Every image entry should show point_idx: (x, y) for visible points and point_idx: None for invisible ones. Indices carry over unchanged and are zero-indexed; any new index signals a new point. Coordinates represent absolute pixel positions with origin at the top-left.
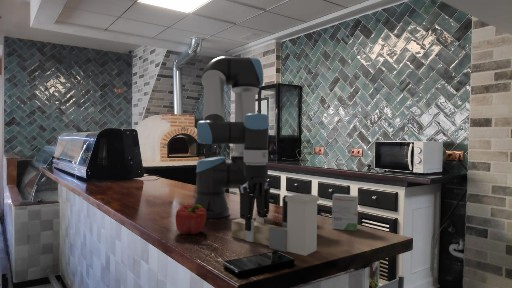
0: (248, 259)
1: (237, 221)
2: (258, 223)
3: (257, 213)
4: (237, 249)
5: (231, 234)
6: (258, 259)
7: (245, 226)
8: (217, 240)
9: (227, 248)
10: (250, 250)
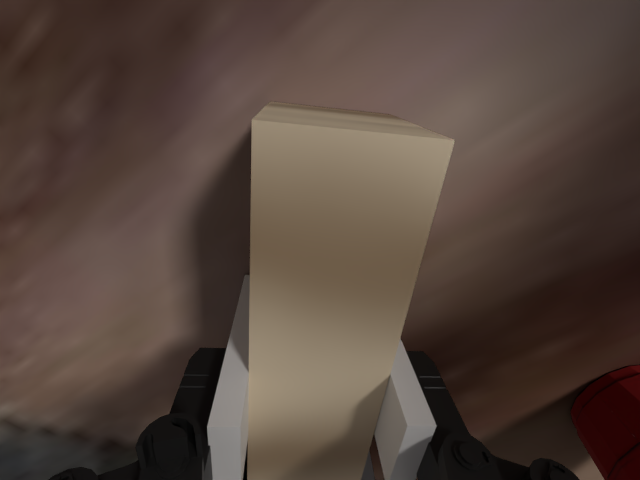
0: (5, 447)
1: (269, 225)
2: (341, 421)
3: (445, 476)
4: (58, 337)
5: (269, 102)
6: (50, 469)
7: (183, 383)
8: (65, 75)
9: (9, 283)
10: (114, 391)
